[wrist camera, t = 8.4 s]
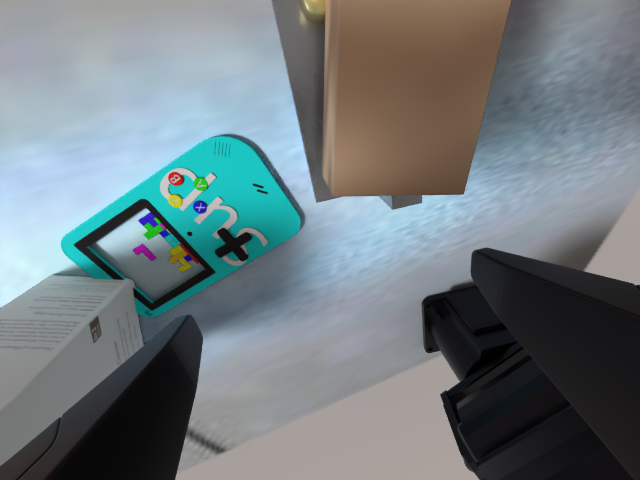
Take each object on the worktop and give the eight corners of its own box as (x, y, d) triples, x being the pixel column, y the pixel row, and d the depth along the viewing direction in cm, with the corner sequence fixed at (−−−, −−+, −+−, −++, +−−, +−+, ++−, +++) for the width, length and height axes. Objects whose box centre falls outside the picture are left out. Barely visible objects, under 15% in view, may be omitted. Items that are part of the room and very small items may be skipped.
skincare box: (149, 354, 24) (-14, 653, 11) (71, 354, 24) (-208, 681, 10) (133, 271, 21) (-135, 567, 8) (41, 268, 20) (-446, 596, 7)
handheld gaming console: (307, 229, 20) (146, 324, 22) (306, 223, 21) (152, 315, 23) (232, 120, 17) (49, 245, 19) (235, 119, 18) (60, 239, 20)
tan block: (424, 174, 16) (463, 194, 13) (322, 175, 16) (332, 196, 12) (466, -60, 12) (542, -130, 8) (327, -72, 11) (346, -152, 8)
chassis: (438, 168, 20) (489, 190, 15) (314, 197, 20) (324, 228, 15) (435, -87, 14) (518, -191, 9) (260, -48, 14) (247, -131, 9)
